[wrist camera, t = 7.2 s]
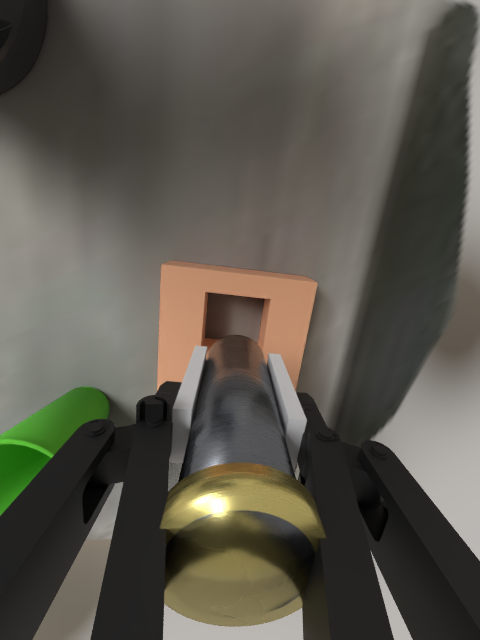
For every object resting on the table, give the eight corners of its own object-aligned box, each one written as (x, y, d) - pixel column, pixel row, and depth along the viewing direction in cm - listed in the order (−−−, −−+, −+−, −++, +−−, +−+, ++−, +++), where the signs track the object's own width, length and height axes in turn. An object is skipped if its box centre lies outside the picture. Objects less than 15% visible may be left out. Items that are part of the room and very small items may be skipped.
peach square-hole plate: (171, 260, 27) (111, 282, 14) (306, 276, 28) (373, 312, 15) (164, 424, 33) (117, 553, 20) (276, 434, 34) (304, 563, 20)
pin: (203, 325, 18) (146, 490, 6) (275, 333, 18) (351, 504, 6) (198, 389, 19) (142, 623, 7) (264, 395, 19) (311, 629, 8)
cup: (134, 382, 31) (83, 456, 21) (119, 443, 34) (67, 537, 23) (54, 361, 30) (-42, 427, 20) (45, 425, 33) (-45, 515, 22)
